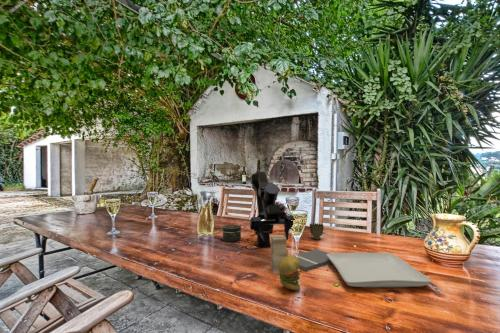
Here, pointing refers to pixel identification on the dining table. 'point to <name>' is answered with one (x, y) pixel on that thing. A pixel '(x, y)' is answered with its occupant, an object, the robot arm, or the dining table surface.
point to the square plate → (376, 270)
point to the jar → (231, 233)
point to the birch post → (277, 252)
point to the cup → (316, 230)
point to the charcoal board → (313, 259)
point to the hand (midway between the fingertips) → (276, 240)
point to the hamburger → (289, 272)
